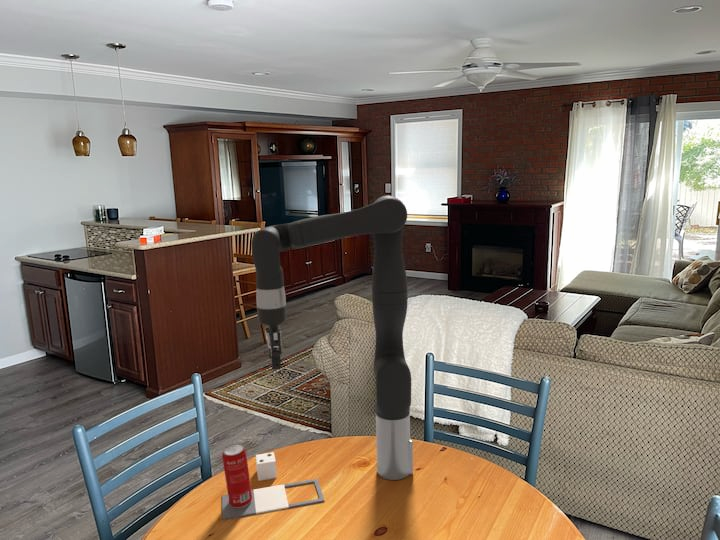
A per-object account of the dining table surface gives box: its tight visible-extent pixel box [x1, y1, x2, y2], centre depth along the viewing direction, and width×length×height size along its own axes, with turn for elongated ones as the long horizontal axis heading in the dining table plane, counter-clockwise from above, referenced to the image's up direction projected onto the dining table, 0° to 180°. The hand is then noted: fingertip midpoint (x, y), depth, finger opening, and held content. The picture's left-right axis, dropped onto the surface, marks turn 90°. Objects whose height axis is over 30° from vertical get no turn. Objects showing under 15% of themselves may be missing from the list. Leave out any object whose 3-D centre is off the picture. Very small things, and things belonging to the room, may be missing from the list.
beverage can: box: [221, 443, 252, 508], centre depth 133 cm, size 6×6×15 cm
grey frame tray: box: [221, 478, 325, 521], centre depth 136 cm, size 25×10×1 cm, turn 105°
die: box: [255, 451, 277, 482], centre depth 147 cm, size 5×5×5 cm
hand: (274, 363), depth 141 cm, fingers open, 8 cm apart
